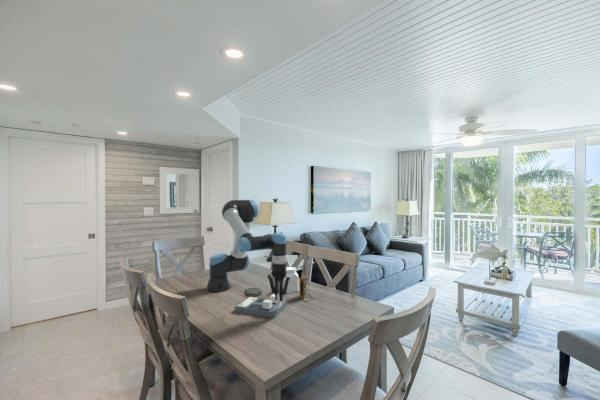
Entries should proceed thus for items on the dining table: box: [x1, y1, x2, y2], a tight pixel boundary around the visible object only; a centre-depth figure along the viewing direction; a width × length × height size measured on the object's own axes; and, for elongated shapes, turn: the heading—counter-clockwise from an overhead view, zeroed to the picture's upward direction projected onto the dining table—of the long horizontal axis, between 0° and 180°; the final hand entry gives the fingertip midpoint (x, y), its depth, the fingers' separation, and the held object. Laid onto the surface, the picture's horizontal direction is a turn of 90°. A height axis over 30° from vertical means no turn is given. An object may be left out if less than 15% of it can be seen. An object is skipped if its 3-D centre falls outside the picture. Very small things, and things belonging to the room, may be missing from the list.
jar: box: [283, 266, 300, 294], centre depth 189 cm, size 12×10×15 cm
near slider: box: [262, 298, 272, 309], centre depth 151 cm, size 4×4×4 cm
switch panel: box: [234, 296, 287, 319], centre depth 157 cm, size 24×16×3 cm, turn 71°
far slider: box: [269, 293, 277, 303], centre depth 159 cm, size 4×4×4 cm
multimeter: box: [299, 264, 315, 303], centre depth 175 cm, size 15×10×20 cm
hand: (279, 306), depth 149 cm, fingers closed
